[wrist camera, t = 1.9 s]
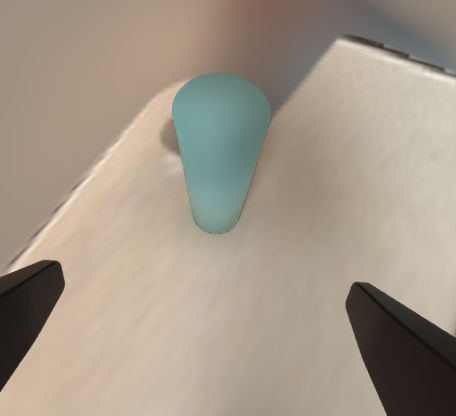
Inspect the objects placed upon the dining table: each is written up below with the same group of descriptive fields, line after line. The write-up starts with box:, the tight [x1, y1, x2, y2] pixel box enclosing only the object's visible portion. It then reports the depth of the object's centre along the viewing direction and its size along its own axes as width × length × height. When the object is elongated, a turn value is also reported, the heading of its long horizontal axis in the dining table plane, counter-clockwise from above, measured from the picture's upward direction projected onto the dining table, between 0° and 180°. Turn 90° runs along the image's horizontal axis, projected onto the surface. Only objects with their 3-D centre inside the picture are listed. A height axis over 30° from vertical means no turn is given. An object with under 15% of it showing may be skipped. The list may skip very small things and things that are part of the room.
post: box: [172, 73, 271, 234], centre depth 17 cm, size 4×4×13 cm
